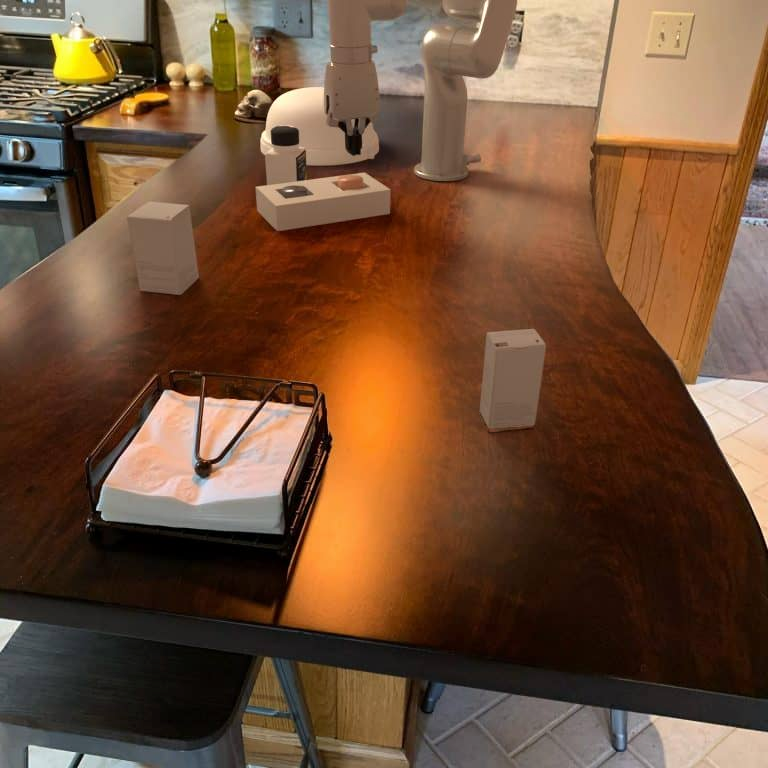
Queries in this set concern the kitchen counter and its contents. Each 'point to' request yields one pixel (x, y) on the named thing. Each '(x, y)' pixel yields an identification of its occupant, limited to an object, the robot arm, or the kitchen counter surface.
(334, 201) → the button console
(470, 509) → the kitchen counter surface
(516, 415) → the skincare box
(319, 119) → the dome cover
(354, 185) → the light brown rounded piece
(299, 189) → the charcoal button
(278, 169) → the medicine bottle
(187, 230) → the supplement box
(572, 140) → the kitchen counter surface
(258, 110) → the skull
